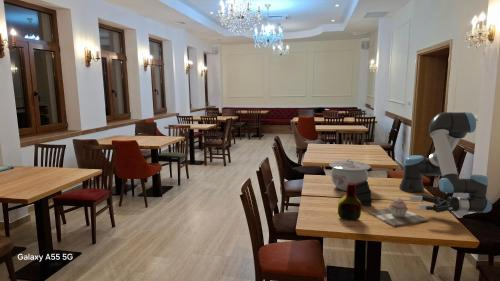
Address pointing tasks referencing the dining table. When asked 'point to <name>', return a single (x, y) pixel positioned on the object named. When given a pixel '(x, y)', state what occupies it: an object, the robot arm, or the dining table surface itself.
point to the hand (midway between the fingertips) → (413, 202)
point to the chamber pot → (348, 173)
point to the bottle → (349, 204)
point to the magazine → (363, 193)
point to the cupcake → (398, 208)
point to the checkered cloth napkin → (397, 221)
